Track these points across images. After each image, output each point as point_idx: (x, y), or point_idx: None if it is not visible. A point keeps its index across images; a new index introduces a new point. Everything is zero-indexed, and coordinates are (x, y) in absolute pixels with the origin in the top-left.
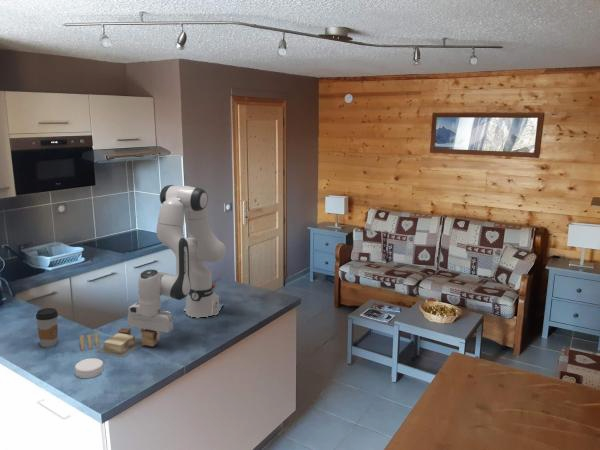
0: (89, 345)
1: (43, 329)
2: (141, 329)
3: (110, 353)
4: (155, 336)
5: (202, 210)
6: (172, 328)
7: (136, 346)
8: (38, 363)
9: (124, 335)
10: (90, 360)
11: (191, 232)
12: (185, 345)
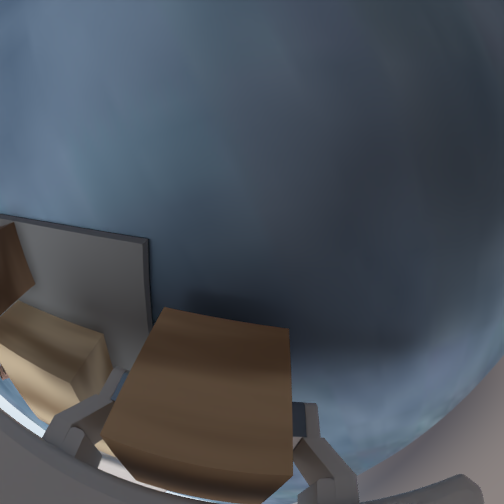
0: (7, 374)
1: None
2: (97, 461)
3: None
4: None
5: None
6: (469, 496)
7: (133, 358)
8: (19, 404)
9: (25, 369)
10: (111, 468)
11: None
12: (485, 254)
